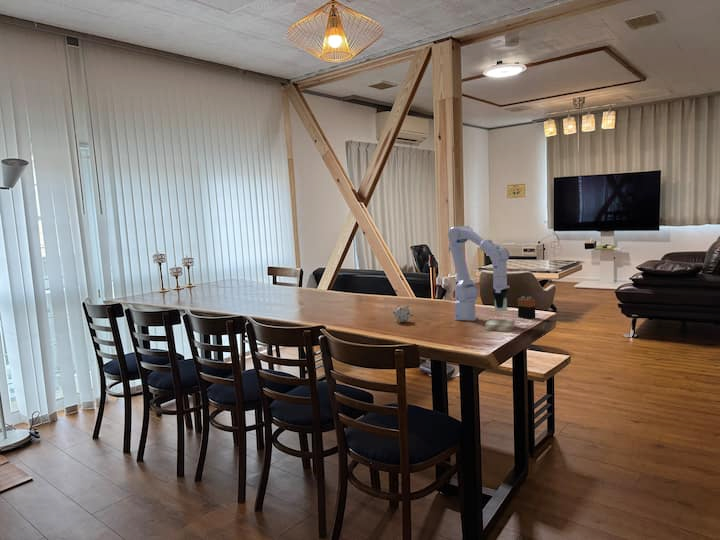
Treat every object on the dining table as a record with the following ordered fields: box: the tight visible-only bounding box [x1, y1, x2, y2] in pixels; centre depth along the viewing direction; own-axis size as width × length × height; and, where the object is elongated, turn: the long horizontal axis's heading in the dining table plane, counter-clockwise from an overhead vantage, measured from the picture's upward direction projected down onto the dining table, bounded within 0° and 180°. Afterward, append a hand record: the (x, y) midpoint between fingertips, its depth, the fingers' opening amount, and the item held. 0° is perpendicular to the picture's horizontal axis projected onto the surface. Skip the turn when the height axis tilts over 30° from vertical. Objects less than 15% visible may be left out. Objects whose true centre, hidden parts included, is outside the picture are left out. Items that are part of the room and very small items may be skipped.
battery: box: [517, 295, 536, 320], centre depth 236 cm, size 4×7×10 cm, turn 36°
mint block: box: [494, 297, 508, 312], centre depth 222 cm, size 5×5×5 cm
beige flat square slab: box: [484, 318, 516, 332], centre depth 219 cm, size 11×11×3 cm
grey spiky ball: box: [392, 304, 414, 324], centre depth 238 cm, size 9×8×10 cm
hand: (500, 306), depth 222 cm, fingers closed on mint block, 5 cm apart
